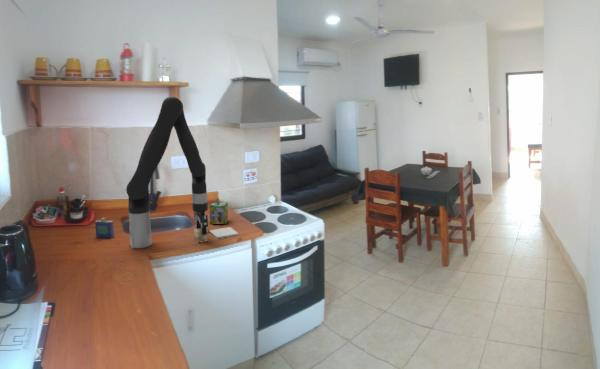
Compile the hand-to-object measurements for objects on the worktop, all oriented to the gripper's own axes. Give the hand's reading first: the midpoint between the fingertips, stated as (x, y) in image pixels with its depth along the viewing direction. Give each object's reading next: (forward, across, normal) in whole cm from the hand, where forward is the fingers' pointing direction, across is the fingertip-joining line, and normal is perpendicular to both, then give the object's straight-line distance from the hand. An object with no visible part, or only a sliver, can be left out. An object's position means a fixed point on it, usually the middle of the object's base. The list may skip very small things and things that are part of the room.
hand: (201, 231), depth 186 cm
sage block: (+5, -13, +4) cm, 15 cm away
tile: (+5, -4, +13) cm, 15 cm away
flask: (+4, -28, -42) cm, 50 cm away
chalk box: (+5, -24, +18) cm, 31 cm away
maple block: (+5, 0, -1) cm, 5 cm away
